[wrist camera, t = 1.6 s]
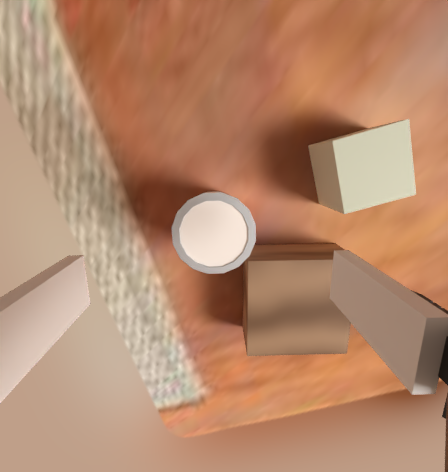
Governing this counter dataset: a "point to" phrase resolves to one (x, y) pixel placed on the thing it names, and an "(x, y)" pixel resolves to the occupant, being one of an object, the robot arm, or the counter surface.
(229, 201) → the shot glass
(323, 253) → the walnut block
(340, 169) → the sage block
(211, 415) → the counter surface
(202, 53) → the counter surface
